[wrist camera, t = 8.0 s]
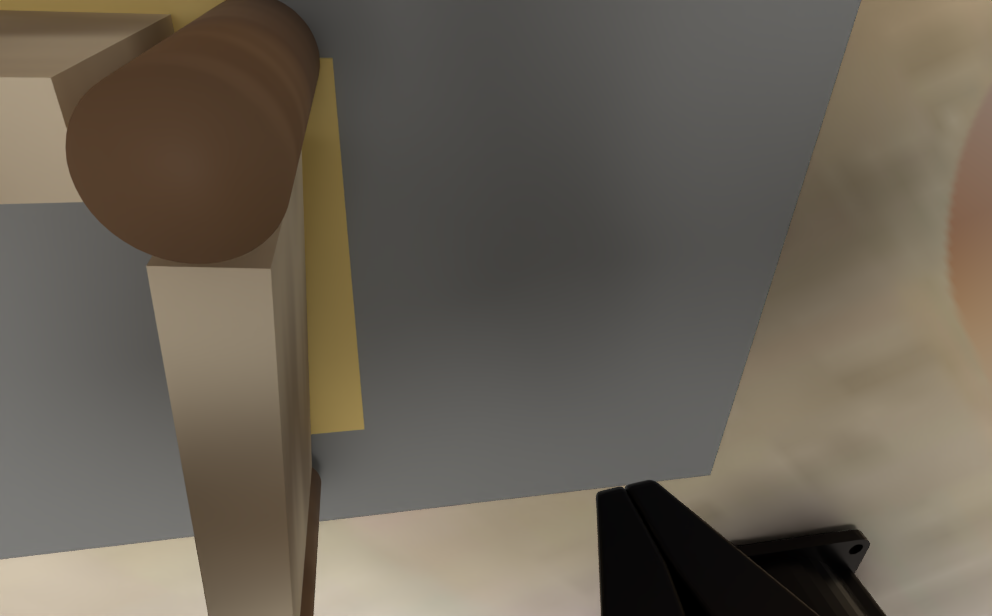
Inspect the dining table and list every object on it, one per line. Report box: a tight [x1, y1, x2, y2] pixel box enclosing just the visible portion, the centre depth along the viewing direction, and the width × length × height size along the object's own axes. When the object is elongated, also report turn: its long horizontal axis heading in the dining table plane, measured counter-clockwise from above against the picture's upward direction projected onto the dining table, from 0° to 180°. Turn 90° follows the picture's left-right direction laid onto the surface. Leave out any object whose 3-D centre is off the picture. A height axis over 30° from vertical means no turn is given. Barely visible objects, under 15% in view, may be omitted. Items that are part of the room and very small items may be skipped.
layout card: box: [0, 0, 861, 559], centre depth 12 cm, size 20×15×1 cm
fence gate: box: [146, 150, 321, 616], centre depth 10 cm, size 9×2×5 cm, turn 172°
